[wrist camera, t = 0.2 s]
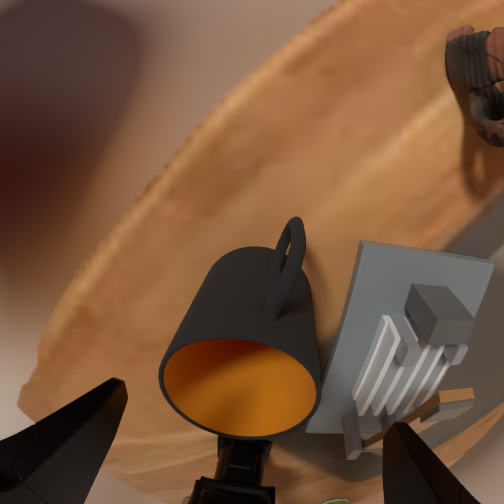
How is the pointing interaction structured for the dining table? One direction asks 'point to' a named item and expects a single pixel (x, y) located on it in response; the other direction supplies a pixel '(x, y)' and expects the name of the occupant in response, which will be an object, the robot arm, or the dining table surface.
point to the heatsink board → (396, 336)
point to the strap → (429, 414)
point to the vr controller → (479, 77)
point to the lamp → (185, 500)
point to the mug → (248, 345)
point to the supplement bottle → (337, 501)
